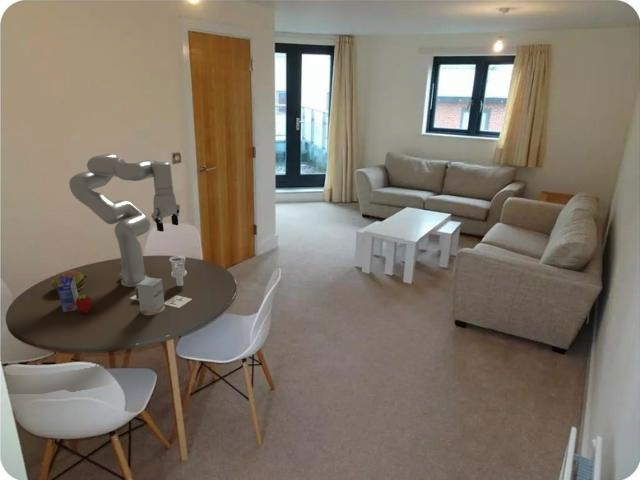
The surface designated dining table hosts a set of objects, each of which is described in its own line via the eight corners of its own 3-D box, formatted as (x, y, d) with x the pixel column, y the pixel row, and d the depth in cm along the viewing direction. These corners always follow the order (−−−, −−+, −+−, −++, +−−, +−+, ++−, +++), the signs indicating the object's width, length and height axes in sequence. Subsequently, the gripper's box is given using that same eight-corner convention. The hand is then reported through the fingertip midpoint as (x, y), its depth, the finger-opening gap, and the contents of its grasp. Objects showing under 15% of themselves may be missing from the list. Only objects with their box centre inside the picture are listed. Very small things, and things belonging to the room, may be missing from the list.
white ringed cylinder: (182, 289, 205) (179, 260, 200) (169, 286, 207) (166, 257, 202) (190, 283, 211) (188, 254, 206) (178, 280, 213) (175, 252, 208)
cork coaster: (135, 312, 184) (134, 311, 184) (151, 302, 193) (151, 301, 193) (153, 317, 181) (153, 316, 180) (170, 306, 189) (169, 305, 189)
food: (46, 294, 198) (43, 279, 195) (65, 281, 211) (62, 266, 208) (75, 296, 197) (72, 280, 194) (93, 282, 210) (90, 267, 207)
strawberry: (77, 319, 178) (73, 297, 175) (77, 311, 184) (73, 290, 181) (94, 316, 181) (90, 294, 177) (93, 308, 187) (89, 287, 184)
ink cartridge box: (65, 302, 192) (59, 272, 187) (79, 300, 193) (73, 270, 188) (62, 312, 183) (55, 281, 178) (76, 310, 185) (70, 279, 180)
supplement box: (155, 313, 183) (152, 286, 178) (140, 310, 184) (136, 284, 180) (165, 305, 189) (162, 278, 185) (150, 302, 191) (146, 276, 187)
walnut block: (136, 298, 196) (135, 288, 194) (142, 293, 200) (140, 283, 199) (146, 298, 195) (145, 288, 193) (152, 293, 200) (151, 284, 198)
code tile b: (129, 298, 196) (129, 298, 195) (144, 290, 203) (144, 289, 203) (145, 302, 192) (145, 302, 192) (159, 294, 200) (159, 293, 200)
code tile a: (162, 304, 191) (162, 303, 191) (176, 295, 199) (176, 295, 199) (179, 308, 188) (179, 307, 188) (192, 299, 196) (192, 298, 196)
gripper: (170, 185, 198) (174, 221, 204) (142, 194, 183) (147, 232, 189) (184, 187, 196) (187, 223, 202) (156, 196, 181) (161, 234, 187)
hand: (168, 227), depth 195 cm, fingers open, 9 cm apart
